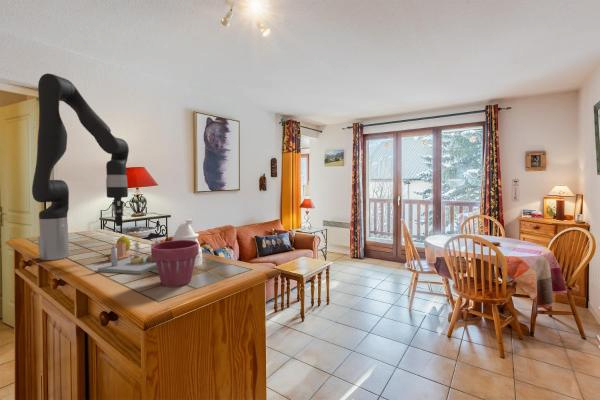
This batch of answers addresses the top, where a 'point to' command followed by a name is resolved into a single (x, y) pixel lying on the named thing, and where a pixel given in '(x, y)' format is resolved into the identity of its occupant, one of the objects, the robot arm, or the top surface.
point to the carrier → (130, 263)
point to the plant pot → (175, 261)
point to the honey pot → (188, 238)
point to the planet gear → (120, 252)
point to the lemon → (124, 240)
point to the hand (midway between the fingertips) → (118, 224)
